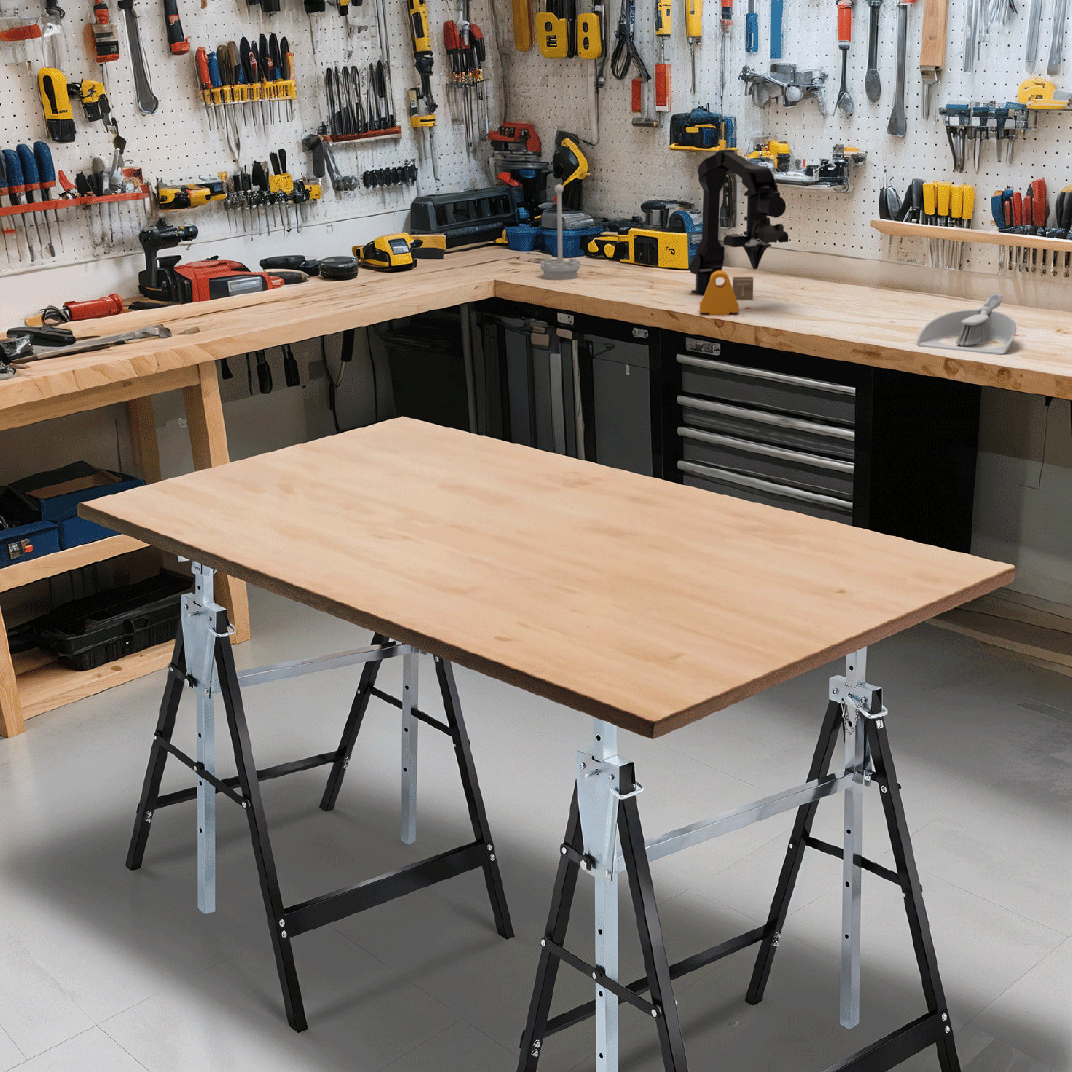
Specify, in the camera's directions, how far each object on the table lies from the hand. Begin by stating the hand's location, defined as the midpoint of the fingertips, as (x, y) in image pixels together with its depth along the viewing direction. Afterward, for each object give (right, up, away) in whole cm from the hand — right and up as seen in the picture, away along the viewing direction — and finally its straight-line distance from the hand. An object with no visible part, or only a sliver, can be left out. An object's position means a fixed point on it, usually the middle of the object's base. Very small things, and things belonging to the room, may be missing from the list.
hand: (755, 268), depth 392 cm
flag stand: (-55, +9, +60) cm, 82 cm away
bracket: (-11, -13, -1) cm, 17 cm away
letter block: (-1, -5, +19) cm, 20 cm away
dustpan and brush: (+52, -26, -39) cm, 70 cm away
